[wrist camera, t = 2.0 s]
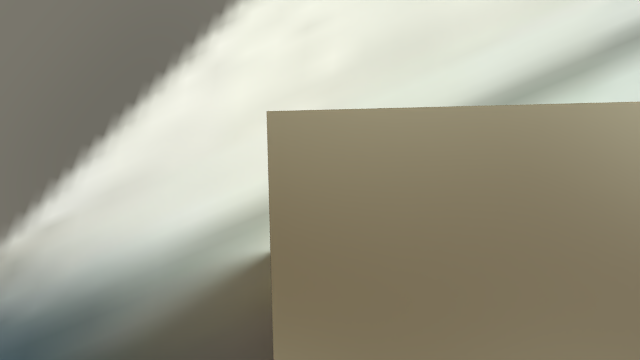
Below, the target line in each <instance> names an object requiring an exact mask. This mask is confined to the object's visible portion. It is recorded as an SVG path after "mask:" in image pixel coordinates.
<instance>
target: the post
mask: <svg viewBox="0 0 640 360" xmlns="http://www.w3.org/2000/svg"><path fill="white" fill-rule="evenodd" d="M267 140H268V177H269V214H270V251H271V288H272V325H273V360H640V102H612V103H573V104H534V105H495V106H456V107H417V108H378V109H339V110H300V111H267Z"/></svg>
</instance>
